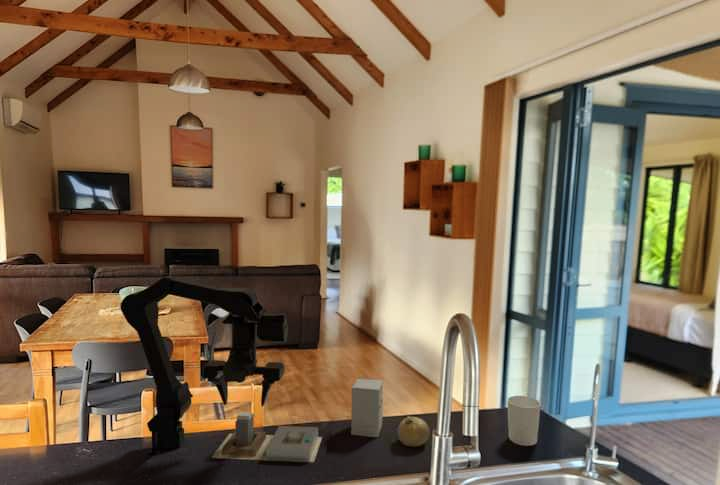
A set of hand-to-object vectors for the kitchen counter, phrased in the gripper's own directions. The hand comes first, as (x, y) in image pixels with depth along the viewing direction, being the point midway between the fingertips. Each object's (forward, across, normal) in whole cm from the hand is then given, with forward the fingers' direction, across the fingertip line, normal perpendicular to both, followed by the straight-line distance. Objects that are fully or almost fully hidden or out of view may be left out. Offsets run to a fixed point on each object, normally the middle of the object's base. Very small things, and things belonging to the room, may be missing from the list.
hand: (244, 405), depth 113 cm
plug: (+10, 0, 0) cm, 10 cm away
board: (+11, +6, 0) cm, 13 cm away
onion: (+11, +41, +7) cm, 43 cm away
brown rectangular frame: (+11, 0, 0) cm, 11 cm away
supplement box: (+11, +29, +13) cm, 34 cm away
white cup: (+11, +69, +11) cm, 71 cm away
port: (+11, +12, 0) cm, 16 cm away
